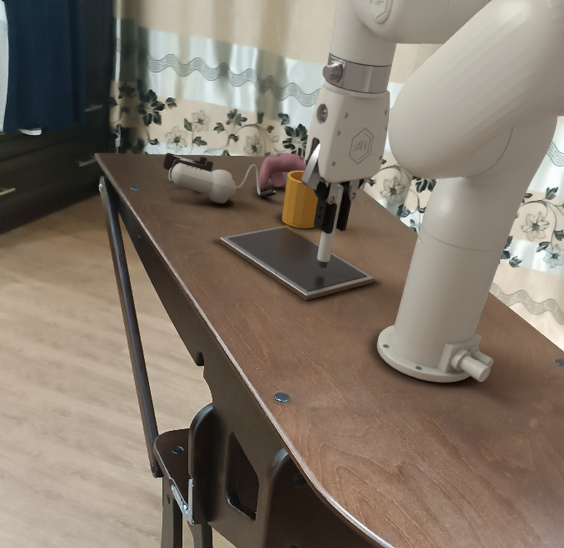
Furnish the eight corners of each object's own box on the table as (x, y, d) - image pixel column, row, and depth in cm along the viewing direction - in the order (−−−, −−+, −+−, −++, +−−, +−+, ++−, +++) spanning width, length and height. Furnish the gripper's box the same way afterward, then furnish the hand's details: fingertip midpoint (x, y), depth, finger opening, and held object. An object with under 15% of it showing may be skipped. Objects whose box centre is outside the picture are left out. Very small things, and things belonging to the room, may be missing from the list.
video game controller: (312, 202, 128) (318, 160, 126) (312, 198, 124) (319, 155, 122) (257, 193, 128) (263, 151, 126) (256, 188, 124) (262, 145, 122)
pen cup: (324, 225, 117) (331, 181, 112) (296, 230, 114) (303, 185, 109) (301, 212, 120) (307, 168, 115) (274, 217, 117) (279, 172, 112)
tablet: (373, 282, 103) (374, 276, 102) (305, 300, 96) (306, 294, 95) (286, 230, 113) (286, 224, 113) (219, 242, 106) (219, 236, 106)
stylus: (331, 267, 100) (346, 187, 93) (321, 269, 99) (336, 189, 92) (322, 262, 101) (337, 182, 94) (313, 264, 100) (327, 184, 93)
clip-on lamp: (257, 202, 129) (159, 174, 121) (267, 166, 125) (168, 134, 118) (273, 222, 120) (169, 192, 113) (285, 183, 116) (178, 150, 109)
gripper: (329, 87, 78) (303, 249, 91) (424, 82, 87) (388, 230, 99) (286, 68, 82) (267, 226, 94) (381, 65, 91) (352, 210, 103)
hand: (329, 227), depth 97 cm, fingers closed on stylus, 1 cm apart
